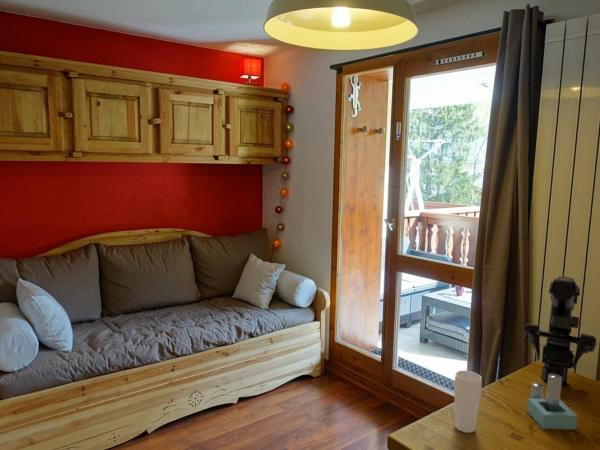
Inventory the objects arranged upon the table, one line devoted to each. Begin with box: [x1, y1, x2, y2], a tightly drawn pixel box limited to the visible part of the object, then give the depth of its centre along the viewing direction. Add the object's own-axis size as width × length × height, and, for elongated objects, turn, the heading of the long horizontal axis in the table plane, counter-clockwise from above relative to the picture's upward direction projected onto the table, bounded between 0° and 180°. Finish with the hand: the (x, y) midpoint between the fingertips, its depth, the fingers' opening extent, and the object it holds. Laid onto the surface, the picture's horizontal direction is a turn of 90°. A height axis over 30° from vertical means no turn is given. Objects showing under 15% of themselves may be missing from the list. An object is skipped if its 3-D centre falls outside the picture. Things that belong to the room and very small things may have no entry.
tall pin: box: [545, 374, 562, 412], centre depth 132 cm, size 3×3×13 cm
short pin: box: [529, 382, 545, 399], centre depth 144 cm, size 3×3×4 cm
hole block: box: [526, 398, 578, 430], centre depth 132 cm, size 9×9×4 cm
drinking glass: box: [453, 370, 483, 434], centre depth 127 cm, size 7×7×15 cm
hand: (555, 364), depth 138 cm, fingers open, 9 cm apart
